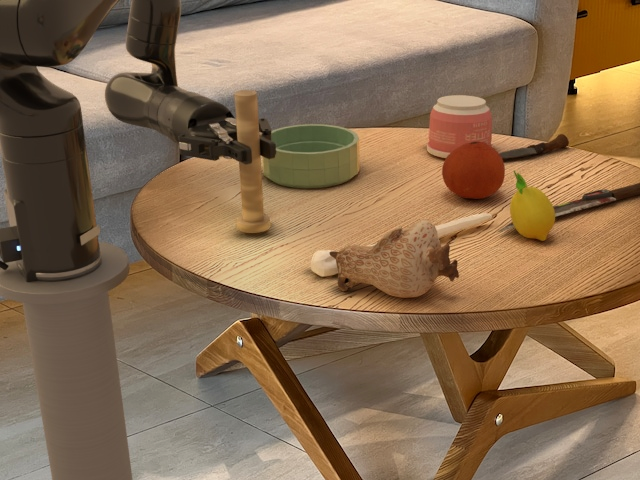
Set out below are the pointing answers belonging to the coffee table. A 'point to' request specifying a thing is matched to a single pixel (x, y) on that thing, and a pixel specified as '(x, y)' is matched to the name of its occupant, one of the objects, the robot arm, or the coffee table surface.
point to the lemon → (531, 211)
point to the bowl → (313, 156)
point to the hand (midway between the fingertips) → (261, 153)
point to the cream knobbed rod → (327, 264)
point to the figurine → (398, 262)
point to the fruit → (473, 170)
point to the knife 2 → (592, 200)
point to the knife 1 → (537, 148)
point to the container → (458, 124)
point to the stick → (250, 173)
